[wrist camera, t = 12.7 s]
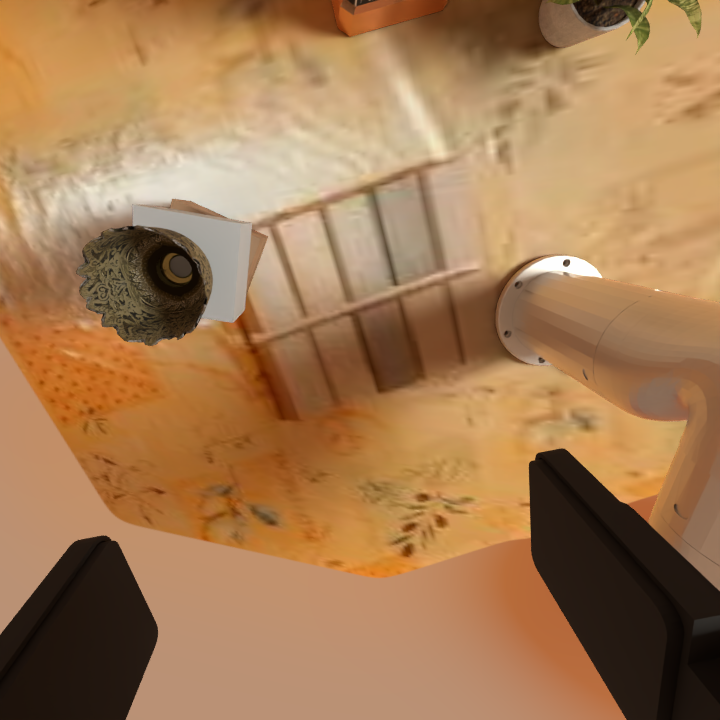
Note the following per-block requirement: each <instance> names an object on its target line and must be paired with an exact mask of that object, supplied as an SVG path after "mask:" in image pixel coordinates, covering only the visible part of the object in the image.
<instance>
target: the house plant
mask: <svg viewBox="0 0 720 720" xmlns="http://www.w3.org/2000/svg"><path fill="white" fill-rule="evenodd" d="M645 1H646V2H647V7H646V8H645V10H644V12H643V13H641V12H640V11H639V10H640V9H641V7H642V6H643V4H644V3H645ZM668 1H669V2H671V3H673V4H675V5H677V6H678V7H680V8H681V9H683V10H684V11H685V12H686V14H687V16H688V18H689V20H690V23H691V24H692V26H693V27H694V29H695V30H696V32H697V34H698V35H699V33H700V29H701V9H700V6H699V3H698V1H697V0H668ZM651 5H652V0H542V3H541V6H540V10H539V26H540V29H541V33H542V34H543V36H544V38H545V39H546V40H547V41H548V42H549V43H550V44H551V45H553V46H556V47H562V48H565V47H569V46H572V45H575V44H578V43H580V42H583V41H585V40H588V39H591V38H593V37H596V36H599V35H601V34H604V33H607V32H609V31H612V30H615V29H617V28H619V27H621V26H622V25H624V24H626V23H628V22H629V21H630V22H631V24H632V27H633V28H632V30H631V32H630V34H629V35H628V37H629V36H630V35H631V34H632V32H633V31H634V32H635V34H636V37H637V39H638V50H637V52H638V51H639V49H640V48H641V47H642V45H643V44H644V43H645V42H646V40H647V39H648V37H649V32H650V26H649V22H648V20H647V18H646V17H645V16H646V15H647V13H648V12H649V9H650V7H651ZM698 35H697V37H698ZM628 37H627V39H628ZM637 52H636V53H637ZM635 55H636V54H635Z"/></svg>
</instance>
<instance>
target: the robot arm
mask: <svg viewBox="0 0 720 720" xmlns="http://www.w3.org/2000/svg"><path fill="white" fill-rule="evenodd" d="M563 261H564V263H563ZM516 282H517V285H516V286H515V283H516ZM495 323H496V329H497V333H498V336H499V338H500V341H501V342H502V344H503V345H504V347H505V348H506V349H507V350H508V351H509V352H510V353H511V354H512V355H513V356H515V357H516V358H518V359H519V360H521V361H523V362H525V363H528V364H532V365H537V366H550V365H554V366H555V367H557V368H558V369H560V370H562V371H563V372H565V373H566V374H568V375H569V376H571V377H572V378H574V379H575V380H577V381H578V382H580V383H582V384H583V385H585V386H586V387H588V388H589V389H591V390H592V391H594V392H595V393H597V394H599V395H600V396H602V397H603V398H605V399H606V400H608V401H609V402H611V403H613V404H614V405H616V406H617V407H619V408H621V409H622V410H624V411H626V412H628V413H630V414H632V415H635V416H638V417H640V418H644V419H649V420H655V421H685V420H688V421H687V424H686V427H685V430H684V432H683V435H682V437H681V440H680V445H679V447H678V450H677V452H676V454H675V457H674V459H673V461H672V464H671V466H670V468H669V471H668V473H667V475H666V478H665V480H664V482H663V485H662V487H661V489H660V492H659V494H658V497H657V500H656V502H655V505H654V507H653V510H652V513H651V516H650V519H649V522H648V523H647V522H646V521H645V520H644V519H643V518H642V517H641V516H640V515H639V514H638V513H637V512H636V511H635V510H634V509H632V508H631V507H630V506H629V505H627V504H625V503H622V502H620V501H619V500H618V499H617V498H616V497H615V496H614V495H613V494H612V493H611V492H609V491H608V490H607V489H606V488H605V487H604V486H603V485H602V484H601V483H600V482H599V481H598V480H597V479H596V478H595V477H594V476H593V475H592V474H591V473H590V472H589V471H588V470H587V469H586V468H585V467H584V466H583V465H582V464H581V463H579V462H578V461H577V460H576V459H575V458H574V457H573V456H572V455H571V454H570V453H569V452H568V451H567V450H565V449H556V450H551V451H546V452H541V453H538V454H537V455H536V458H535V460H534V461H531V462H530V463H529V485H530V520H531V552H532V557H533V561H534V564H535V566H536V568H537V570H538V572H539V574H540V575H541V577H542V579H543V580H544V582H545V584H546V585H547V587H548V589H549V590H550V592H551V594H552V595H553V597H554V599H555V601H556V602H557V604H558V605H559V607H560V609H561V611H562V612H563V614H564V616H565V617H566V619H567V621H568V622H569V624H570V626H571V627H572V629H573V631H574V632H575V634H576V636H577V637H578V639H579V641H580V642H581V644H582V646H583V647H584V649H585V651H586V652H587V654H588V656H589V657H590V659H591V661H592V662H593V664H594V666H595V667H596V669H597V671H598V672H599V674H600V676H601V678H602V679H603V681H604V682H605V684H606V686H607V688H608V689H609V691H610V693H611V694H612V696H613V698H614V699H615V701H616V703H617V704H618V706H619V708H620V709H621V710H622V713H623V714H624V716H625V718H626V719H627V720H720V302H715V301H710V300H704V299H699V298H695V297H690V296H685V295H680V294H675V293H671V292H666V291H661V290H657V289H652V288H647V287H643V286H638V285H633V284H629V283H624V282H619V281H615V280H610V279H605V278H602V276H601V274H600V273H599V272H598V270H597V269H596V268H595V267H594V266H593V265H591V264H590V263H589V262H587V261H586V260H583V259H581V258H578V257H575V256H570V255H558V254H555V255H549V256H544V257H541V258H538V259H536V260H534V261H532V262H530V263H528V264H527V265H525V266H524V267H522V268H521V269H520V270H519V271H517V272H516V273H515V274H514V275H513V277H512V278H511V279H510V280H509V281H508V283H507V284H506V286H505V287H504V289H503V291H502V293H501V295H500V298H499V300H498V303H497V308H496V320H495ZM505 331H506V333H505ZM504 333H505V334H504ZM157 637H158V627H157V624H156V622H155V620H154V617H153V615H152V613H151V612H150V609H149V607H148V605H147V603H146V601H145V599H144V596H143V595H142V592H141V590H140V588H139V586H138V584H137V582H136V580H135V578H134V575H133V573H132V571H131V569H130V567H129V565H128V563H127V561H126V559H125V557H124V555H123V553H122V550H121V548H120V547H119V544H118V543H117V542H116V541H111V539H110V538H109V537H107V536H97V537H93V538H87V539H82V540H78V541H75V542H74V543H73V544H72V545H71V546H70V547H69V548H68V549H67V551H66V552H65V553H64V554H63V556H62V557H61V559H60V560H59V561H58V562H57V563H56V565H55V566H54V567H53V568H52V570H51V571H50V572H49V573H48V575H47V576H46V577H45V579H44V580H43V581H42V582H41V584H40V585H39V586H38V588H37V589H36V590H35V591H34V593H33V594H32V595H31V597H30V598H29V599H28V600H27V601H26V603H25V604H24V605H23V607H22V608H21V609H20V610H19V612H18V613H17V614H16V615H15V617H14V618H13V619H12V621H11V622H10V623H9V624H8V626H7V627H6V628H5V629H4V631H3V632H2V633H1V635H0V720H126V717H127V715H128V712H129V710H130V707H131V705H132V702H133V700H134V697H135V695H136V692H137V690H138V688H139V685H140V683H141V680H142V678H143V675H144V672H145V670H146V667H147V665H148V663H149V660H150V658H151V655H152V653H153V650H154V648H155V645H156V642H157Z"/></svg>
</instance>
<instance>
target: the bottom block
mask: <svg viewBox="0 0 720 720" xmlns="http://www.w3.org/2000/svg"><path fill="white" fill-rule="evenodd" d="M170 208H171V209H176V210H182V211H188V212H193V213H199V214H204V215H210V216H216V217H221V218H226V217H224V216H222V215H220V214H218V213H215V212H213V211H211V210H209V209H207V208H204V207H202V206H200V205H198V204H196V203H193V202H191V201H186V200H178V199H172V202H171V206H170ZM227 219H229V218H227ZM267 238H268V236H266V235H264V234H261V233H259V232H257V231H255V230H253V229H252V230H251V242H250V254H249V266H248V277H247V289H246V294H247V292H248V289H249V286H250V284H251V281H252V278H253V276H254V273H255V270H256V268H257V265H258V262H259V260H260V257H261V254H262V252H263V249H264V246H265V244H266V241H267Z"/></svg>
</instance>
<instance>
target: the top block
mask: <svg viewBox="0 0 720 720" xmlns="http://www.w3.org/2000/svg"><path fill="white" fill-rule="evenodd" d="M132 210H133V226H136V225H140V226H146V227H158V228H164V229H169V230H172V231H175V232H178V233H180V234H182V235H184V236H186V237H187V238H189V239H190V240H192V241H193V242H194V243H195V244H196V245H198V246H199V248H200V249H201V250H202V251H203V253H204V254H205V255H206V257H207V259H208V261H209V264H210V267H211V270H212V275H213V286H212V292H211V295H210V299H209V301H208V304H207V306H206V309H205V312H204V314H203V315H202V317H201V318H204V319H211V320H218V321H225V322H232V323H233V322H234V321H235V320H236V319H237V318H238V317H239V316H240V315H241V314H242V312H243V311H244V310H245V301H246V289H247V277H248V266H249V254H250V242H251V230H252V223H249V222H243V221H238V220H232V219H227V218H221V217H216V216H210V215H204V214H199V213H193V212H188V211H182V210H176V209H171V208H165V207H160V206H147V205H133V204H132ZM170 268H171V271H172V272H173V273H174V274H175V275H177V276H179V277H186V276H188V275H189V274H190V273H191V270H192V268H191V265H190V264H189V262H188V261H187V260H186V259H185V258H184V257H182V256H177V257H174V258H173V259H172V260H171V262H170Z"/></svg>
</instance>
